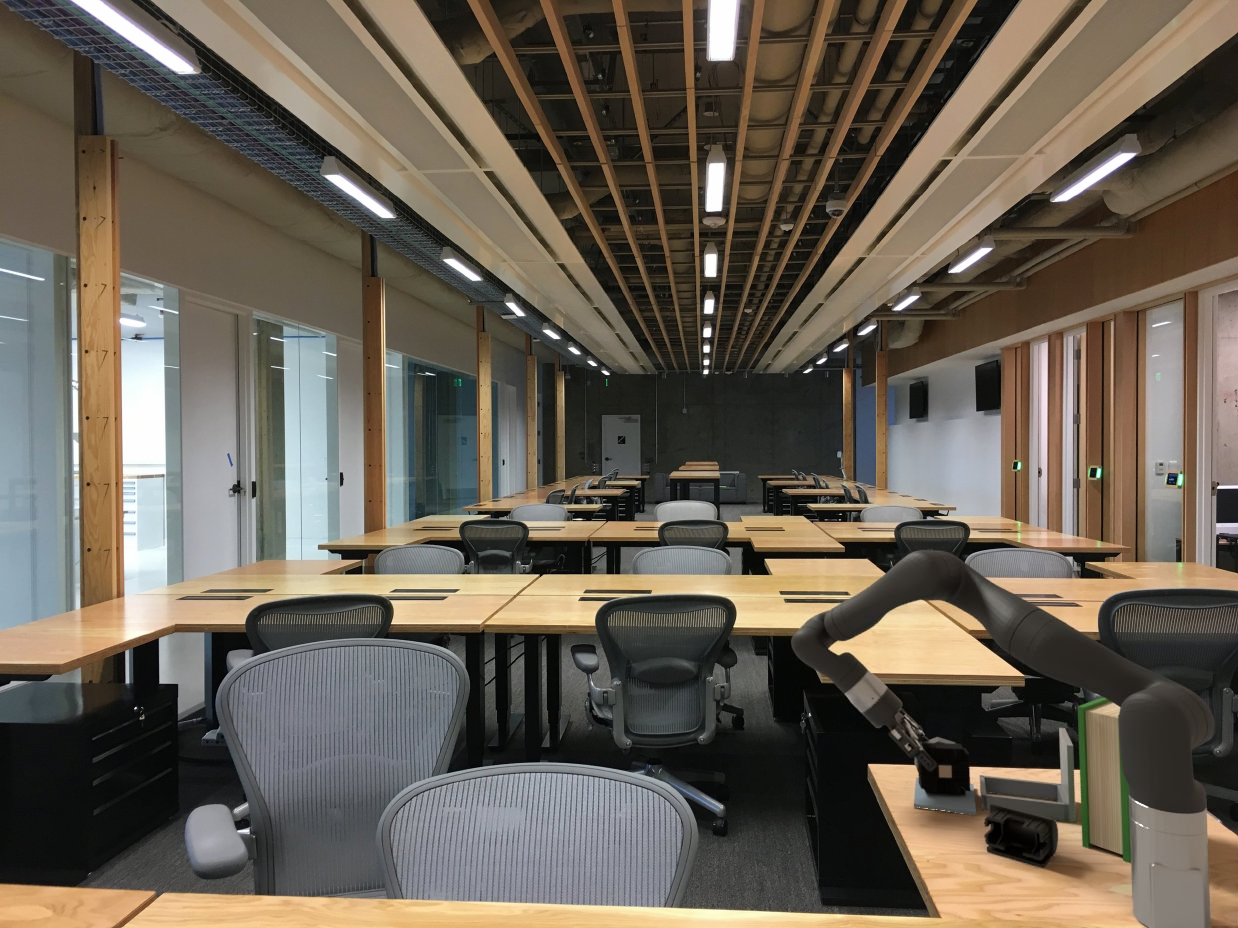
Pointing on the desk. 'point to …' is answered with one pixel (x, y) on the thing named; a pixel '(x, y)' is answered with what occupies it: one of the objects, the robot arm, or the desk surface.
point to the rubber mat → (945, 801)
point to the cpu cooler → (945, 768)
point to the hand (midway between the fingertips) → (934, 760)
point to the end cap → (1021, 835)
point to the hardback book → (1103, 779)
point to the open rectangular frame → (1036, 789)
